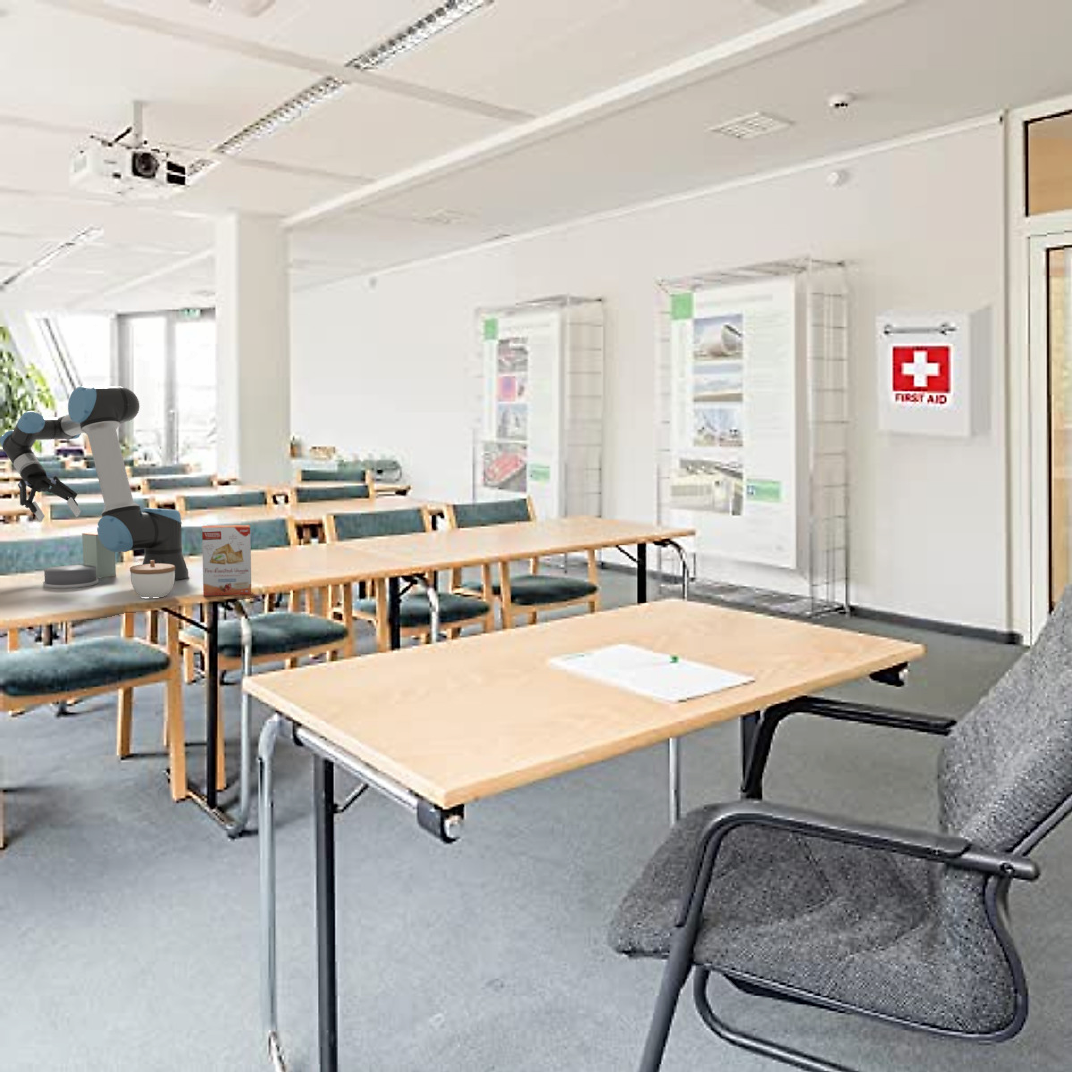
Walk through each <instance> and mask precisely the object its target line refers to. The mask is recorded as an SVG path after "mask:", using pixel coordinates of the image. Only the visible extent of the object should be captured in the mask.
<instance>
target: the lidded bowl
mask: <svg viewBox="0 0 1072 1072" xmlns="http://www.w3.org/2000/svg"><path fill="white" fill-rule="evenodd" d="M129 572H130V581H131V585H132V588H133V590H134V592H135V593H136V594H137V595H138V596H140V598H141V597H149V598H153V597H163V596H166V595H168V594H169V593H170V592H171V591H172V589H173V587H174V585H175V584H174V583H175V581H176V580H175V566H174V565H172V564H155V560H150V564H143V563H142V564H137V565H133V566H131V567H129ZM166 597H167V596H166Z"/></svg>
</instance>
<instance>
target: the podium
mask: <svg viewBox="0 0 1072 1072" xmlns="http://www.w3.org/2000/svg"><path fill="white" fill-rule="evenodd" d="M43 573H44V575H43V576H44V581H43V582H42V587H44V588H46V587H49V588H48V589H77V587H79V588H86V587H92V586H95V585H98V584H99V578H96V567H95V566H89V565H84V564H71V565H69V564H68V565H59V566H52V567H47V568H45V569H44V570H43Z"/></svg>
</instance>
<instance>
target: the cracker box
mask: <svg viewBox="0 0 1072 1072" xmlns="http://www.w3.org/2000/svg"><path fill="white" fill-rule="evenodd" d="M201 542H202V544H201V546H202V548H201V549H202V550H201V551H202V584H203V590H202V593H203V597H207V596H208V597H209V596H210V597H213V596H241V595H242V596H243V595H244V596H245V595H246V596H247V595H248V596H249V595H252V553H251V552H252V551H251V550H252V548H251V546H252V545H251V543H252V541H251V525H250V524H221V525H220V524H219V525H217V524H216V525H213V524H212V525H202V528H201Z"/></svg>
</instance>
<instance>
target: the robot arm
mask: <svg viewBox="0 0 1072 1072" xmlns="http://www.w3.org/2000/svg"><path fill="white" fill-rule="evenodd" d="M139 411H140V401H139V398H138V396H136V393H134V391H132V390H130V389H129V388H127V387H123V386H120V385H119V386H118V385H117V386H113V385H112V386H111V385H105V386H104V385H91V384H88V385H81V386H78V387H76V388H75V389H74V390H73V391H72V392H71V394H70V396H69V398H68V403H67V412H68V414H66V415H63V416H61V417H44V416H43V415H42V414H40V413H39V412H36V411H33V410H28V411H25V412H24V413H23V414H21V416H20V417H19V418H18V420H17V422H16V425H15V427H14V428H13V429H11V430H8V431H6V432H5V433H4V434H2V435H1V436H0V446H1V448H2V450H3V452H4V454H6V456H7V457H8V459H9V460H10V462H11V463H12V465H13V467H14V468H15V469H16V472H17V473H18V474H19V476H20V477H21V479H20V480H19V482H18V483H17V487H18V489H19V505H20V506H24V508H26V509H29V511H31V513H32V514H34V515H35V517H36V519H37V520H38V521H39V522H40V523H41V522H42V521H43V520H44V518H45V514H44V513H43V511H42V509H41V508H40V507H39V505H38V503H37V502H36V501H33V500H34V499H35V496H36V493H42V492H48V493H52V494H53V495H55V496H58V497H60V498H62V499H63V500H64V501H66V504H67V506H68V507H69V509H70V510H71V512H72V513H73V515H74V517H75V518H77V517H79V516H80V515H81V512H82V511H81V509H80V507H79V504H78V503H77V501H76V497H77V496H78V493H77V492H76V491H74V490H73V489H72V488H70V487H69V486H68V485H67V484H65V483H64V482H63V481H61V480H60V479H59V477H58V476H53V477H52V478H49V477H48V475H47V472H46V471H45V469H44V467H43V466H42V465H41V462H40V461H39V459H38V458H37V456H36V455H35V453H34V451H33V450H32V447H33V446H34V444H35V443H36V441H39V440H40V441H41V440H42V441H46V440H47V441H49V440H67V441H68V440H75V439H79V438H80V436H81V435H82V434H86V435H87V437H88V438H87V439H88V442H89V445H90V446H89V447H90V450H91V453H92V458H93V461H94V466H95V471H96V475H97V479H98V483H99V487H100V491H101V495H102V499H103V504H104V508H103V510H102V512H101V517H100V519H99V520H98V522H97V527H96V529H97V531H96V532H97V533H98V537H99V539H100V541H101V543H102V544H103V546H104V547H105V548H107V549H108V550H110V551H112V552H115V553H121V552H122V553H127V552H129V551H136V550H144V556H143V557H144V558H143V560H142V564H150V560H155V564H172V565H174V566H175V580H174V581H178V580H179V579H180V580H184V579H183V578H185V579H188V578H189V577H190V576H189V569H188V567H187V564H186V561H185V559H184V556H183V539H182V524H183V523H182V517H181V512H180V511H179V510H176V509H171V508H170V509H168V508H155V507H143V510H142V509H141V505H139V504H138V503H136V502H135V501H134V498H133V495H132V490H131V486H130V482H129V479H128V473H127V469H126V466H125V461H124V456H123V453H122V448H121V445H120V441H119V437H118V432H117V430H118V427H119V426H120V424H124V423H126V422H129V421H132V420H133V419H135V417H136V416H138V414H139ZM27 487H28V488H30V492H29V496H28V498H27V495H28V494H27Z"/></svg>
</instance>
